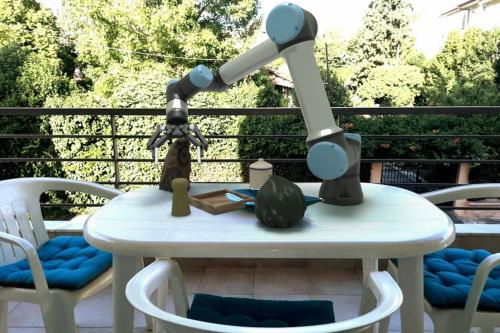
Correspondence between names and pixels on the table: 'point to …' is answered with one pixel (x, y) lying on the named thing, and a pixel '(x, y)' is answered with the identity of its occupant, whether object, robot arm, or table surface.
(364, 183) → the table surface
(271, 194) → the squash
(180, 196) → the cork
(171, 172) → the owl
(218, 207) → the tray
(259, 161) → the teacup with lid
